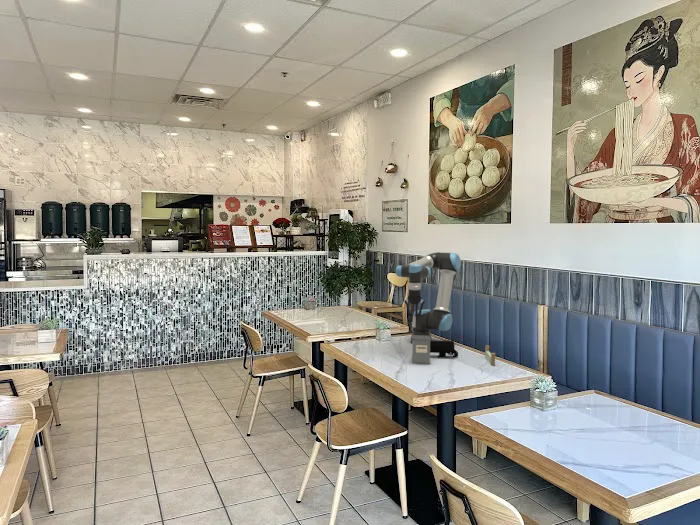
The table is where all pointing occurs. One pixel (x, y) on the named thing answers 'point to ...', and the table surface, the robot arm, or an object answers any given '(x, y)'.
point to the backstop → (490, 356)
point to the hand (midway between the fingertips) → (413, 326)
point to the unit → (421, 349)
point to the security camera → (443, 348)
